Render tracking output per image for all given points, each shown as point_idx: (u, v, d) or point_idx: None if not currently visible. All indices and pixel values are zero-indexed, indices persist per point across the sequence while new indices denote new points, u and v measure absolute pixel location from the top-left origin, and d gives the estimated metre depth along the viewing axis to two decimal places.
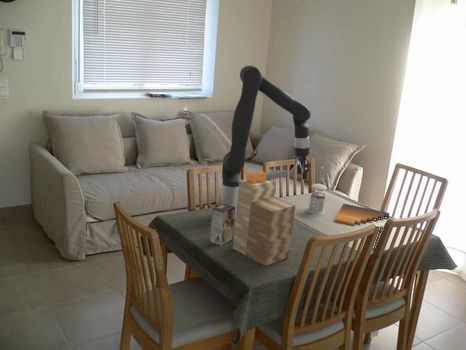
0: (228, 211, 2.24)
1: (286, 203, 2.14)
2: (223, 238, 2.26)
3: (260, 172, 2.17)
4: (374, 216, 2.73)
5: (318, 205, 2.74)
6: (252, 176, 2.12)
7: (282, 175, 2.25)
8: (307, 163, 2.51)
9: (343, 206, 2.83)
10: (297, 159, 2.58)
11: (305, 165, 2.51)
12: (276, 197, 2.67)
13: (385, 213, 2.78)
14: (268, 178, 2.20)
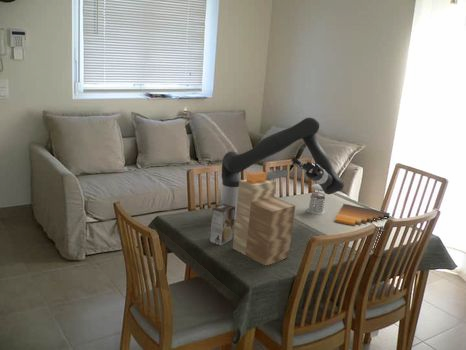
0: (228, 211, 2.24)
1: (286, 203, 2.14)
2: (223, 238, 2.26)
3: (260, 172, 2.17)
4: (374, 216, 2.73)
5: (318, 205, 2.74)
6: (252, 176, 2.12)
7: (282, 175, 2.25)
8: (320, 173, 2.34)
9: (343, 206, 2.82)
10: None
11: (320, 170, 2.34)
12: (276, 197, 2.67)
13: (385, 213, 2.78)
14: (268, 178, 2.20)
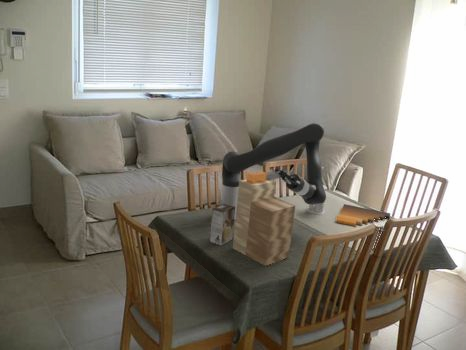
0: (228, 211, 2.24)
1: (286, 203, 2.14)
2: (223, 238, 2.26)
3: (260, 172, 2.17)
4: (375, 216, 2.73)
5: (318, 205, 2.74)
6: (252, 176, 2.12)
7: None
8: (297, 182, 2.26)
9: (344, 207, 2.82)
10: None
11: (296, 179, 2.26)
12: (276, 197, 2.67)
13: (386, 213, 2.78)
14: (268, 178, 2.20)
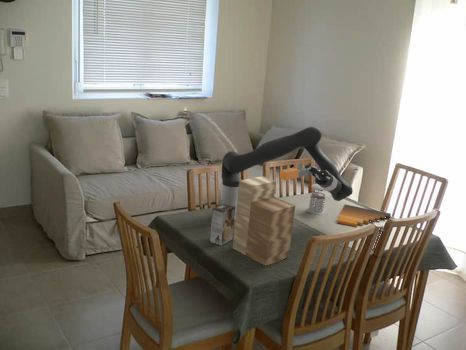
0: (228, 211, 2.24)
1: (286, 203, 2.14)
2: (223, 238, 2.26)
3: (293, 169, 2.24)
4: (376, 217, 2.72)
5: (318, 205, 2.74)
6: (286, 173, 2.19)
7: None
8: (327, 178, 2.33)
9: (344, 207, 2.81)
10: None
11: (326, 175, 2.33)
12: (276, 197, 2.67)
13: (386, 214, 2.78)
14: (300, 174, 2.27)
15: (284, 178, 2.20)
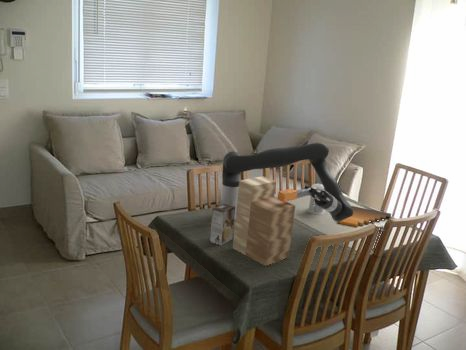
0: (228, 211, 2.24)
1: (286, 203, 2.14)
2: (223, 238, 2.26)
3: (291, 190, 2.15)
4: (376, 217, 2.72)
5: None
6: (284, 194, 2.10)
7: None
8: (326, 200, 2.24)
9: None
10: None
11: (326, 197, 2.24)
12: (276, 197, 2.67)
13: (387, 214, 2.77)
14: (299, 196, 2.18)
15: (282, 200, 2.11)
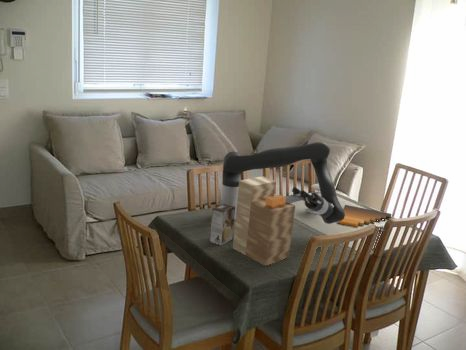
0: (228, 211, 2.24)
1: None
2: (223, 238, 2.26)
3: (279, 196, 2.11)
4: (377, 217, 2.72)
5: None
6: (272, 200, 2.06)
7: (301, 198, 2.19)
8: (318, 203, 2.19)
9: (345, 207, 2.81)
10: None
11: (317, 199, 2.19)
12: None
13: (387, 214, 2.77)
14: (287, 202, 2.13)
15: (270, 206, 2.07)
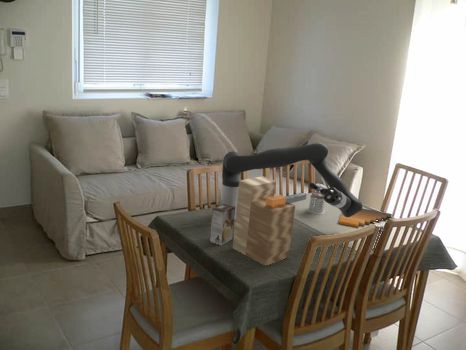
0: (228, 211, 2.24)
1: None
2: (223, 238, 2.26)
3: (279, 196, 2.11)
4: (377, 217, 2.72)
5: (318, 205, 2.74)
6: (272, 201, 2.06)
7: (301, 198, 2.19)
8: (338, 199, 2.29)
9: None
10: None
11: (339, 197, 2.28)
12: None
13: (388, 214, 2.77)
14: (287, 202, 2.13)
15: (270, 206, 2.07)
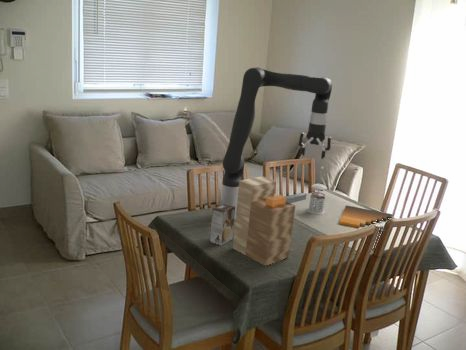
0: (228, 211, 2.24)
1: None
2: (223, 238, 2.26)
3: (279, 196, 2.11)
4: (378, 218, 2.71)
5: (318, 205, 2.74)
6: (272, 201, 2.06)
7: (301, 198, 2.19)
8: (330, 140, 2.32)
9: (346, 208, 2.80)
10: (312, 138, 2.32)
11: (330, 142, 2.32)
12: None
13: (388, 214, 2.77)
14: (287, 202, 2.13)
15: (270, 206, 2.07)
